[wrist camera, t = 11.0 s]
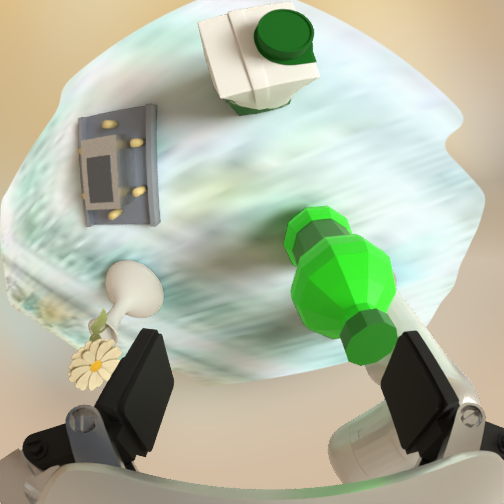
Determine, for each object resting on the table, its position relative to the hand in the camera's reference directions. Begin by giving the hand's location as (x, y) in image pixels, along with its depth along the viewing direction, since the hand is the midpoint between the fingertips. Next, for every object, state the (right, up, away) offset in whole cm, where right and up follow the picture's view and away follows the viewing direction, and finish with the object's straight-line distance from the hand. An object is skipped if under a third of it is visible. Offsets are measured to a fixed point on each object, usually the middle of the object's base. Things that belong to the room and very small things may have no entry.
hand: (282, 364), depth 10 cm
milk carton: (0, +27, +23) cm, 35 cm away
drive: (-21, +17, +26) cm, 38 cm away
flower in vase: (-21, -1, +35) cm, 41 cm away
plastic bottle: (+8, +7, +31) cm, 33 cm away
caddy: (-22, +17, +27) cm, 39 cm away
